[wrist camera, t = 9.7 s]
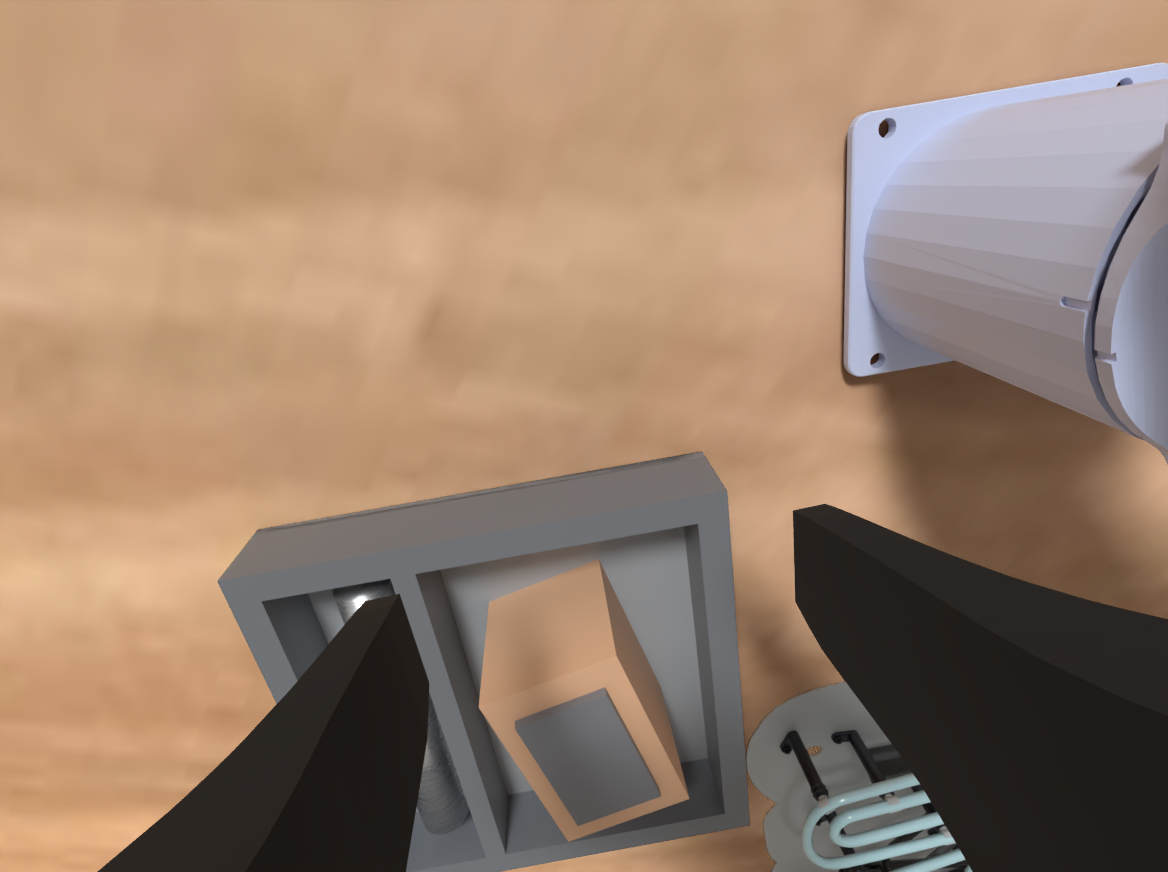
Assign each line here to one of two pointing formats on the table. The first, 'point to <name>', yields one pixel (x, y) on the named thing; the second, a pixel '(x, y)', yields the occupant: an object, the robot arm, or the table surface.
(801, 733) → the neon sign
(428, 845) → the grey divided tray
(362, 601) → the rod
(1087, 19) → the table surface
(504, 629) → the block
